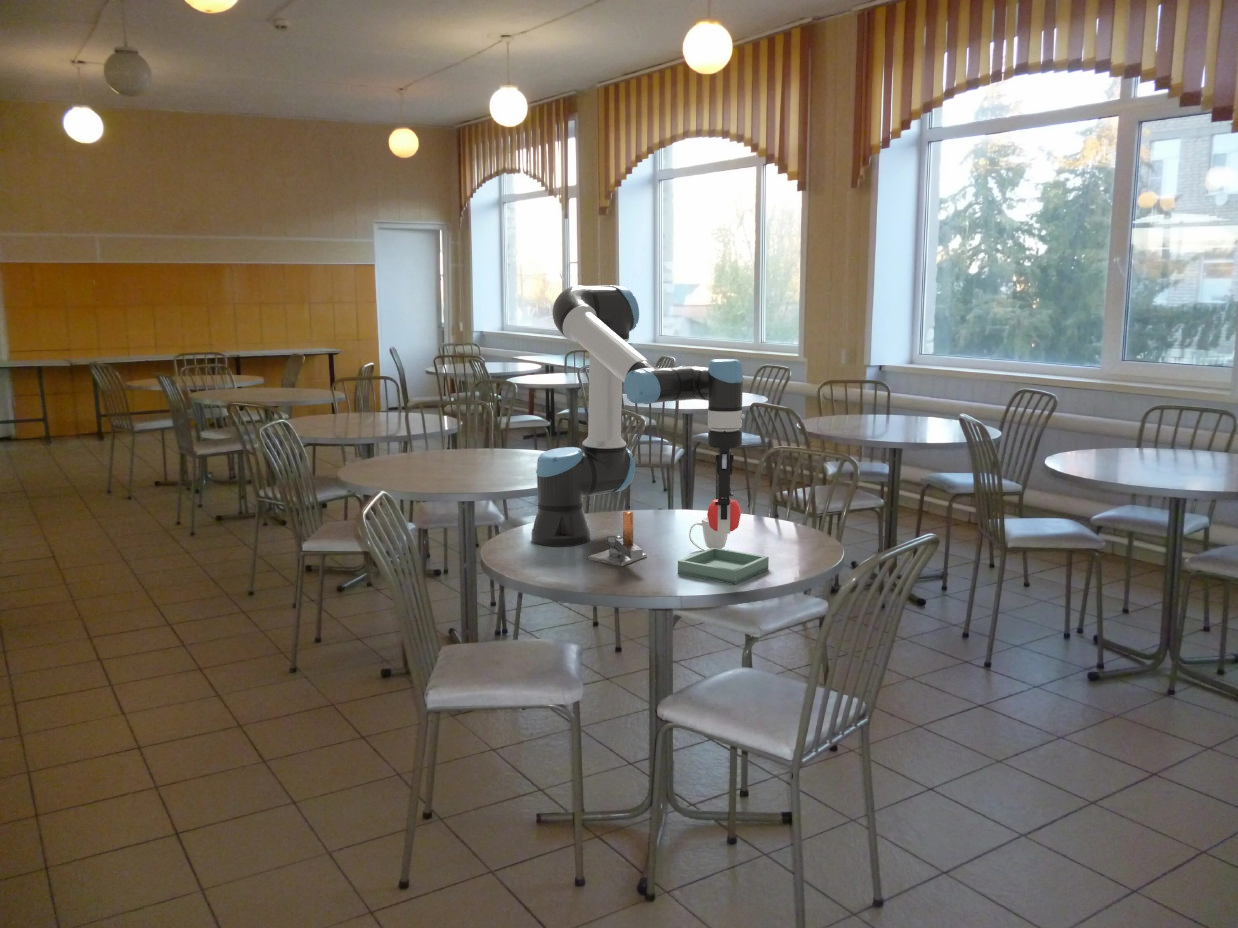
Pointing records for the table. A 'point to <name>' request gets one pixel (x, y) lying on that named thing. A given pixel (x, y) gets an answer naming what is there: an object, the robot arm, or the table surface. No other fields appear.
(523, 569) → the table surface
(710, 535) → the cup
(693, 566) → the tray
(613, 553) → the crank post
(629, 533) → the crank
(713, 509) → the apple
